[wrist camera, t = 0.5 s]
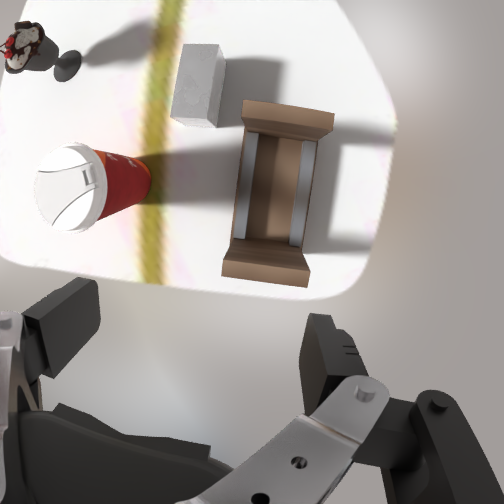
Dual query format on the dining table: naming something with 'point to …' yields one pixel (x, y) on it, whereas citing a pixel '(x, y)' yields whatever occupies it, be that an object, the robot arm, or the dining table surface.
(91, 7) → the dining table surface
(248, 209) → the wooden holder
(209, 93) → the metal block
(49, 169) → the paper cup
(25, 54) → the sundae
